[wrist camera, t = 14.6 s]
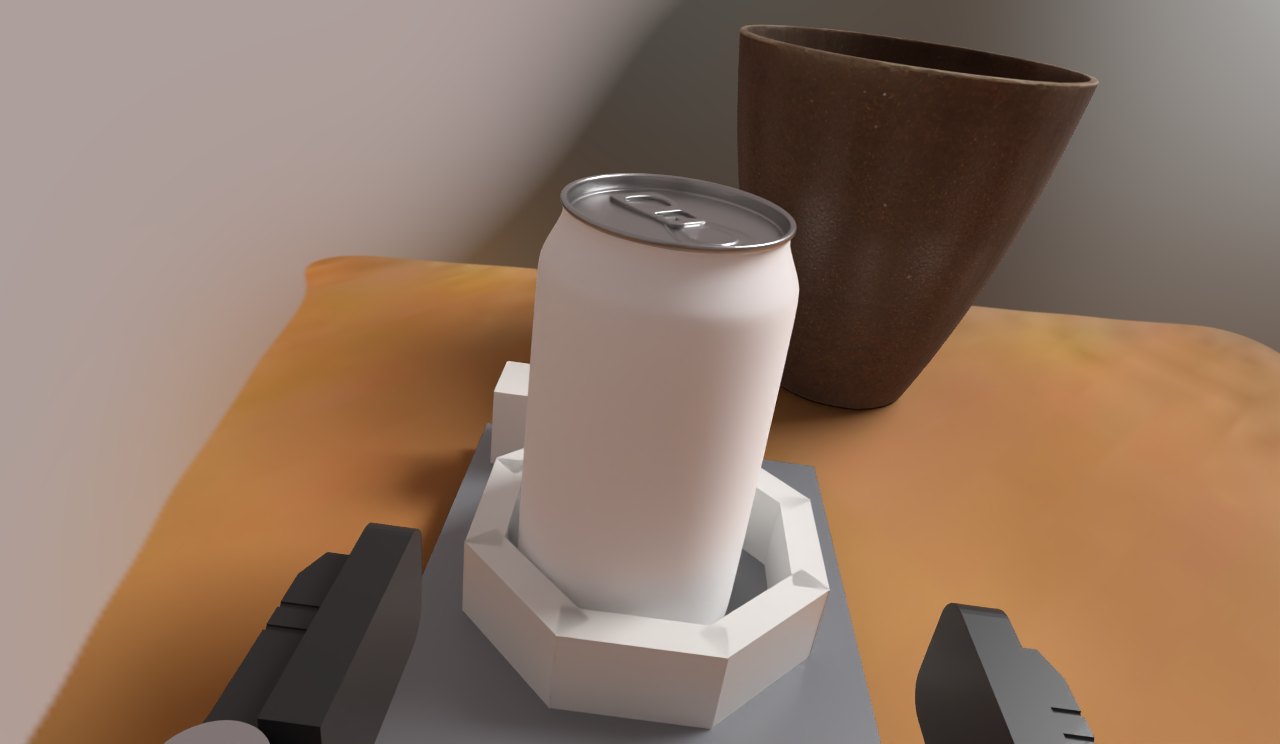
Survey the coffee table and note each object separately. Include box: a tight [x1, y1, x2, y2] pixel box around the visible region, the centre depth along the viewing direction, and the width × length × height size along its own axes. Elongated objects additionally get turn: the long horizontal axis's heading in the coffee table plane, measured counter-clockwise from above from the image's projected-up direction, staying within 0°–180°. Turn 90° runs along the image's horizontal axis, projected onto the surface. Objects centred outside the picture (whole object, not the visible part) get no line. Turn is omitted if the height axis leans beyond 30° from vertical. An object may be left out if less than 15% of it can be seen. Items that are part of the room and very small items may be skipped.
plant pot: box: [737, 25, 1098, 409], centre depth 39 cm, size 15×15×16 cm
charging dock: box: [374, 361, 881, 744], centre depth 25 cm, size 13×16×4 cm
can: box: [517, 173, 799, 626], centre depth 22 cm, size 6×6×12 cm
